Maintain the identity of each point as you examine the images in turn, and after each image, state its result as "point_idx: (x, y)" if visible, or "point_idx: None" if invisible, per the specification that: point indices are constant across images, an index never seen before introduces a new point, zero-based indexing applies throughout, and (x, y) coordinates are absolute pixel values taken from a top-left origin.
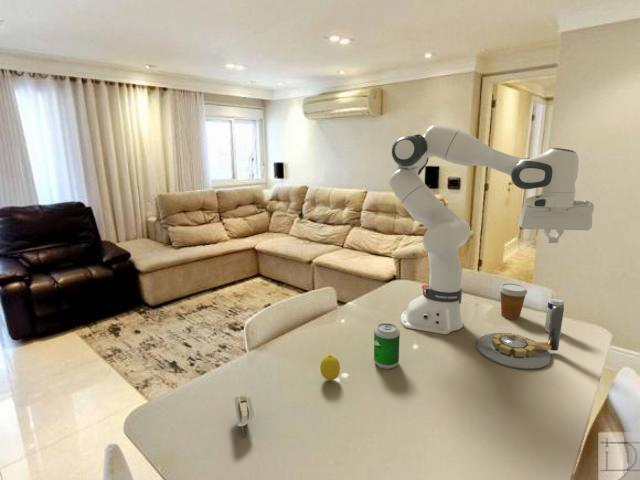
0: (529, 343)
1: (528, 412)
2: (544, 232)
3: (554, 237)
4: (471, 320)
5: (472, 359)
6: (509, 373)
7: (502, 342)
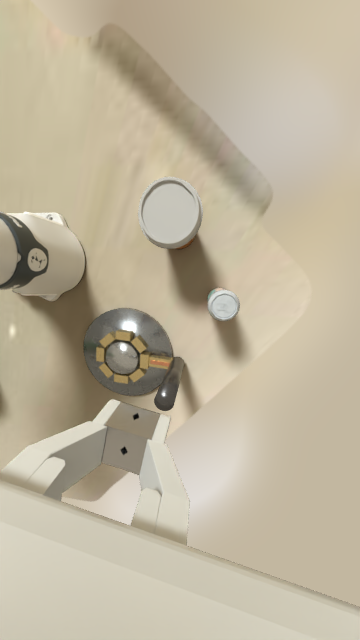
0: (141, 365)
1: None
2: (36, 453)
3: (137, 453)
4: (104, 250)
5: (73, 366)
6: (104, 396)
7: (106, 358)
